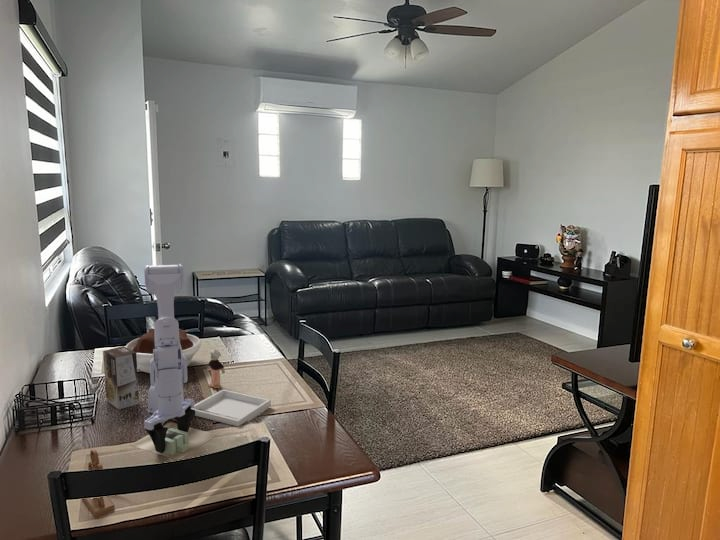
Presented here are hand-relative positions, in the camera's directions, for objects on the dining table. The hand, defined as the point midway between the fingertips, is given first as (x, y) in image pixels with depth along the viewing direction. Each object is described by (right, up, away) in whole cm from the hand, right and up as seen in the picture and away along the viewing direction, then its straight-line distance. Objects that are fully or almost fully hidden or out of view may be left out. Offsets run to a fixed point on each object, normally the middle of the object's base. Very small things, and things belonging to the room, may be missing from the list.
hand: (171, 444), depth 130 cm
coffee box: (-25, +3, +28) cm, 37 cm away
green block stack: (0, -1, 0) cm, 1 cm away
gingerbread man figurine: (-8, -5, -21) cm, 23 cm away
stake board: (-1, -1, +4) cm, 4 cm away
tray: (+9, +2, +22) cm, 24 cm away
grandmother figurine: (0, +5, +40) cm, 41 cm away
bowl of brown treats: (-23, +8, +56) cm, 61 cm away
